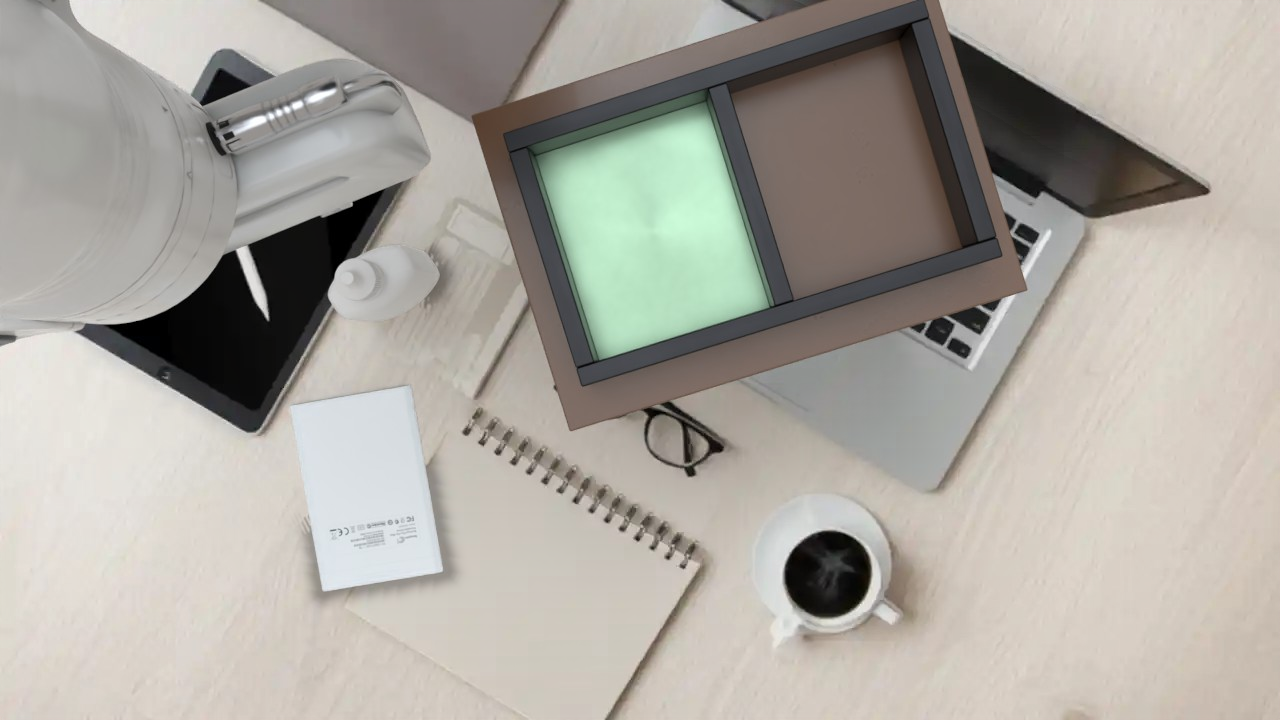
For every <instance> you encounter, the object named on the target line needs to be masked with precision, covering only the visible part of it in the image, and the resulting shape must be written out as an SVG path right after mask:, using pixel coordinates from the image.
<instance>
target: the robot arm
mask: <svg viewBox="0 0 1280 720" xmlns="http://www.w3.org/2000/svg"><path fill="white" fill-rule="evenodd" d="M406 93H407V92H406V91H405V90H404V89H403V87H402V86H401V85H400V84H399V83H398V82H397V81H396V80H395V79H393V77H391V76H390V74H389V73H388V72H387V71H386V70H382V69H378V68H375V67H374V66H371V65H370V64H367V63H365V62H363V61H359V60H357V59H351V58H344V57H337V58H328V59H327V58H326V59H322V60H317V61H314V62H310V63H308V64H304V65H302V66H298V67H296V68H292V69H290V70H287V71H285V72H283V73H280V74H278V75H277V76H273V77H271V78H269V79H267V80H264V81H262V82H258V83H256V84H254V85H251V86H249V87H247V88H243V89H242V90H239V91H237V92H234V93H232V94H229V95H227V96H225V97H222V98H220V99H217V100H215V101H212V102H210V103H207V104H205V105H201V103H200V102H199V101H198V100H197V99H196V98H195V97H193V96H192V95H191V94H190V93H189V92H187V91H186V90H185V89H183V88H182V87H180V86H179V85H178V84H176V83H174V82H173V81H172V80H169V78H166V77H165V76H163V75H162V74H160V73H158V72H157V71H155V70H154V69H152V68H150V67H149V66H147V65H145V64H143V63H141V62H139V61H138V60H136V59H135V58H133V57H132V56H130V55H129V54H127V53H125V52H123V51H122V50H120V49H119V48H117V47H116V46H114V45H112V44H110V42H107V41H105V40H103V38H100V37H99V36H96V35H95V34H93V33H92V32H90V31H89V30H87V29H86V28H85V27H84V26H83V25H81V23H80V22H79V21H78V19H77V18H76V16H75V14H74V13H73V10H72V7H71V1H70V0H0V348H2V347H3V346H6V345H9V344H13V343H15V342H16V341H17V340H20V339H25V338H30V337H35V336H41V335H48V334H58V333H70V332H78V331H81V330H83V329H84V328H85V327H86V324H89V325H90V324H91V325H120V324H127V323H133V322H136V321H142V320H145V319H148V318H152V317H154V316H157V315H159V314H161V313H164V312H166V311H168V310H169V309H171V308H173V307H174V306H177V305H179V304H180V303H181V302H183V301H184V300H185V299H187V298H188V297H189V296H191V295H192V293H194V292H195V291H197V289H198V288H199V287H200V286H201V285H202V284H204V282H205V281H206V280H207V279H208V278H209V276H210V275H211V274H212V272H213V271H214V269H215V268H216V267H217V266H218V264H219V262H220V261H221V259H222V257H223V256H224V255H226V254H229V253H232V252H234V251H236V250H239V249H241V248H244V247H246V246H248V245H251V244H254V243H256V242H258V241H260V240H263V239H265V238H268V237H270V236H272V235H275V234H277V233H280V232H282V231H285V230H287V229H289V228H292V227H294V226H298V225H300V224H302V223H304V222H307V221H310V220H311V219H314V218H317V217H319V216H320V218H327V217H328V216H331V215H334V214H336V213H339V212H342V211H344V210H347V209H349V208H351V207H353V205H354V203H353V202H356V201H358V200H360V199H363V198H365V197H367V196H370V195H372V194H376V193H377V192H379V191H382V190H384V189H388V188H390V187H392V186H394V185H397V184H399V183H402V182H404V181H407V180H410V179H412V178H414V177H415V176H417V175H418V174H419V173H422V172H423V170H424V169H425V168H427V166H428V165H429V164H430V162H431V160H432V154H431V151H430V148H429V145H428V142H427V140H426V137H425V134H424V132H423V129H422V127H421V124H420V122H419V120H418V118H417V115H416V113H415V110H414V108H413V106H412V103H411V102H410V99H409V97H408V95H407V94H406Z"/></svg>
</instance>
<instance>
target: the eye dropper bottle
mask: <svg viewBox="0 0 1280 720" xmlns="http://www.w3.org/2000/svg"><path fill="white" fill-rule="evenodd" d="M439 270H440V269H438V267H437V265H436V264H435V263H434V261H433V260H432V258H431V257H430V255H429V254H428V253H427V252H426V251H424V250H421V249H419V248H415V247H412V246H408V245H404V244H401V243H391V244H386V245H382V246H377V247H374V248H373V249H370V250H368V251H365V252H363V253H362V254H359V255H358V256H356V257H353V258H348V259H346V260H344V261H342V263H340V264H339V265H338V266H337V268H336V270H335V272H334V278H333V280H332V282H331V284H330V286H329V288H328V289H327V290H328V291H327V297H328V300H329V302H330V304H331V306H332V307H333V308H334V310H335V312H336V313H337V314H338V315H339V316H340V317H341V319H343V320H345V321H353V322H364V323H365V322H367V323H370V322H371V323H379V322H385V321H388V320H392V319H396V317H400V316H402V315H404V314H406V313H407V312H409V311H410V310H413V309H414V308H415V307H417V306H418V305H419V304H420V303H421V302H422V301H423V300H425V299H426V297H428V295H429V294H430V293H431V292H432V291H433V289H435V286H436V285H437V284H438V282H439V279H440V275H441V273H440V271H439Z"/></svg>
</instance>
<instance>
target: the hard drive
mask: <svg viewBox="0 0 1280 720" xmlns="http://www.w3.org/2000/svg"><path fill="white" fill-rule="evenodd" d="M413 392H414V391H413V386H412V384H407V385H404V386H403V385H402V386H396V387H391V388H385V389H379V390H373V391H367V392H361V393H355V394H350V395H345V396H338V397H332V398H326V399H321V400H315V401H314V400H313V401H309V402H303V403H297V404H290V405H289V412H290V417H291V421H292V422H291V423H292V424H291V425H292V428H293V434H294V439H295V444H296V445H295V446H296V450H297V456H298V462H299V467H300V472H301V473H300V474H301V478H302V483H303V484H302V485H303V490H304V494H305V501H306V507H307V512H308V517H309V523H310V529H311V533H312V540H313V545H314V551H315V556H316V562H317V568H318V572H319V579H320V585H321V590H322V592H332V591H337V590H342V589H348V588H355V587H360V586H361V587H362V586H367V585H373V584H378V583H385V582H391V581H397V580H405V579H411V578H416V577H422V576H429V575H434V574H435V575H436V574H439V573H443V572H444V565H443V560H442V555H441V549H440V545H439V544H440V542H439V537H438V531H437V526H436V520H435V513H434V507H433V501H432V496H431V491H430V484H429V479H428V472H427V466H426V460H425V454H424V448H423V444H422V443H423V442H422V437H421V432H420V426H419V421H418V415H417V409H416V403H415V397H414V393H413Z"/></svg>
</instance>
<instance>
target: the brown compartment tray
mask: <svg viewBox="0 0 1280 720" xmlns="http://www.w3.org/2000/svg"><path fill="white" fill-rule="evenodd" d="M952 41H953V40H952V38H951V34H950V31H949V28H948V25H947V22H946V18H945V15H944V12H943V9H942V5H941V1H940V0H823V1H820V2H817V3H814V4H811V5H807V6H805V7H801V8H798V9H794V10H791V11H789V12H785V13H782V14H779V15H777V16H773V17H770V18H767V19H764V20H761V21H758V22H755V23H752V24H749V25H745V26H742V27H739V28H736V29H733V30H730V31H726V32H724V33H721V34H718V35H715V36H711V37H708V38H705V39H701V40H699V41H696V42H693V43H689V44H687V45H683V46H680V47H678V48H675V49H671V50H668V51H666V52H665V51H664V52H662V53H659V54H655V55H652V56H649V57H647V58H643V59H641V60H638V61H634V62H631V63H627V64H625V65H621V66H618V67H616V68H612V69H609V70H606V71H603V72H600V73H596V74H594V75H591V76H588V77H584V78H582V79H579V80H575V81H571V82H569V83H566V84H563V85H560V86H557V87H554V88H550V89H547V90H545V91H542V92H538V93H535V94H533V95H528V96H526V97H523V98H519V99H517V100H513V101H510V102H507V103H504V104H502V105H498V106H494V107H492V108H489V109H486V110H482V111H479V112H476V113H473V114H472V115H471V120H472V124H473V126H474V130H475V134H476V136H477V139H478V143H479V145H480V150H481V152H482V155H483V159H484V162H485V165H486V168H487V171H488V175H489V177H490V181H491V184H492V187H493V190H494V194H495V197H496V200H497V204H498V206H499V210H500V213H501V216H502V219H503V222H504V226H505V229H506V232H507V236H508V239H509V242H510V244H511V248H512V252H513V254H514V258H515V261H516V265H517V268H518V271H519V274H520V277H521V279H522V284H523V286H524V290H525V293H526V296H527V299H528V303H529V306H530V309H531V312H532V315H533V319H534V322H535V325H536V327H537V331H538V334H539V338H540V341H541V344H542V347H543V351H544V354H545V357H546V361H547V363H548V366H549V367H548V368H549V370H550V374H551V376H552V379H553V383H554V386H555V389H556V393H557V396H558V399H559V402H560V405H561V408H562V411H563V414H564V417H565V421H566V424H567V427H568V430H569V432H574V431H577V430H581V429H583V428H587V427H590V426H593V425H596V424H600V423H603V422H606V421H609V420H613V419H616V418H619V417H623V416H625V415H629V414H632V413H636V412H639V411H642V410H645V409H650V408H653V407H655V406H658V405H661V404H664V403H668V402H671V401H674V400H675V401H676V400H677V399H682V398H685V397H688V396H691V395H693V394H697V393H701V392H705V391H707V390H710V389H713V388H717V387H720V386H723V385H726V384H730V383H732V382H736V381H739V380H742V379H745V378H748V377H749V378H750V377H752V376H756V375H758V374H762V373H766V372H768V371H772V370H775V369H779V368H782V367H784V366H788V365H791V364H794V363H797V362H798V363H799V362H801V361H805V360H807V359H810V358H814V357H816V356H821V355H823V354H827V353H830V352H833V351H836V350H840V349H843V348H846V347H850V346H852V345H856V344H859V343H862V342H866V341H869V340H872V339H876V338H878V337H881V336H885V335H889V334H892V333H895V332H898V331H901V330H905V329H909V328H911V327H914V326H918V325H921V324H924V323H927V322H930V321H934V320H937V319H940V318H943V317H946V316H951V315H954V314H956V313H960V312H963V311H965V310H969V309H973V308H976V307H979V306H983V305H986V304H988V303H992V302H996V301H999V300H1001V299H1005V298H1008V297H1012V296H1014V295H1018V294H1021V293H1024V292H1027V291H1028V286H1027V283H1026V280H1025V275H1024V273H1023V270H1022V266H1021V263H1020V260H1019V257H1018V253H1017V250H1016V246H1015V243H1014V240H1013V237H1012V234H1011V231H1010V228H1009V224H1008V221H1007V217H1006V215H1005V214H1006V213H1005V211H1004V208H1003V205H1002V201H1001V198H1000V194H999V191H998V188H997V184H996V181H995V179H994V176H993V172H992V168H991V166H990V163H989V159H988V156H987V152H986V149H985V145H984V143H983V138H982V136H981V132H980V129H979V125H978V124H977V120H976V119H977V118H976V116H975V113H974V110H973V107H972V104H971V100H970V97H969V94H968V91H967V88H966V84H965V80H964V77H963V74H962V71H961V68H960V65H959V60H958V57H957V54H956V51H955V47H954V44H953V42H952Z"/></svg>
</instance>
